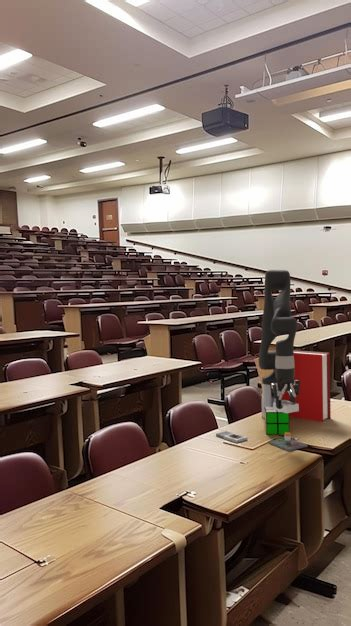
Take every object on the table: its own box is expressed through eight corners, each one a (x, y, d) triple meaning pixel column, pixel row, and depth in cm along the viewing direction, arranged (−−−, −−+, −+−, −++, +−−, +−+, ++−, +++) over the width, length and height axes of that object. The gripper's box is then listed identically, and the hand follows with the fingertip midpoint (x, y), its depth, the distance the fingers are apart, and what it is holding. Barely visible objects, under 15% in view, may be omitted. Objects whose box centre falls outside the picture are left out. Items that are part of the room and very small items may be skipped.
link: (273, 409, 197) (273, 402, 197) (285, 407, 200) (285, 399, 200) (286, 413, 190) (286, 405, 190) (298, 411, 193) (298, 403, 193)
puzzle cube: (286, 428, 220) (286, 406, 219) (289, 434, 210) (289, 412, 209) (264, 428, 221) (263, 406, 220) (266, 434, 211) (265, 412, 210)
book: (330, 418, 233) (329, 352, 232) (323, 422, 227) (322, 354, 226) (280, 410, 252) (279, 349, 250) (272, 413, 246) (271, 351, 244)
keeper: (268, 443, 199) (268, 431, 198) (286, 439, 204) (286, 427, 203) (288, 451, 188) (288, 438, 188) (307, 446, 193) (307, 434, 193)
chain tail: (215, 436, 211) (215, 433, 210) (226, 433, 214) (226, 430, 214) (236, 443, 200) (236, 440, 200) (247, 439, 204) (247, 437, 204)
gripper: (292, 363, 201) (292, 403, 202) (264, 367, 194) (265, 408, 195) (304, 365, 195) (305, 406, 195) (277, 369, 188) (278, 411, 189)
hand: (285, 407), depth 195 cm, fingers closed on link, 6 cm apart
